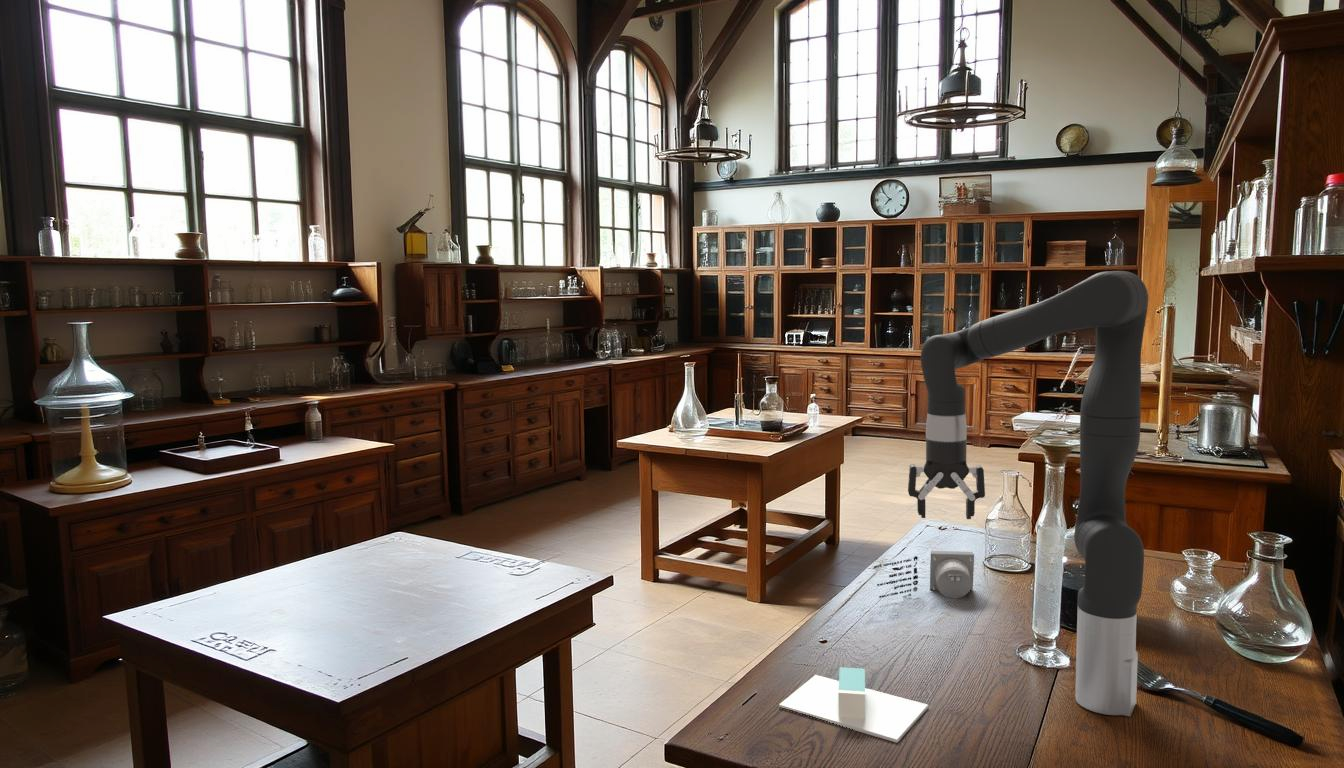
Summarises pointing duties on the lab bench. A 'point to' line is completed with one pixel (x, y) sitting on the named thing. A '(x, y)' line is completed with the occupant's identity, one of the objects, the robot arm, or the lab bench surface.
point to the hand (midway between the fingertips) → (945, 517)
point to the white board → (881, 710)
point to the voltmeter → (943, 573)
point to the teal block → (851, 693)
